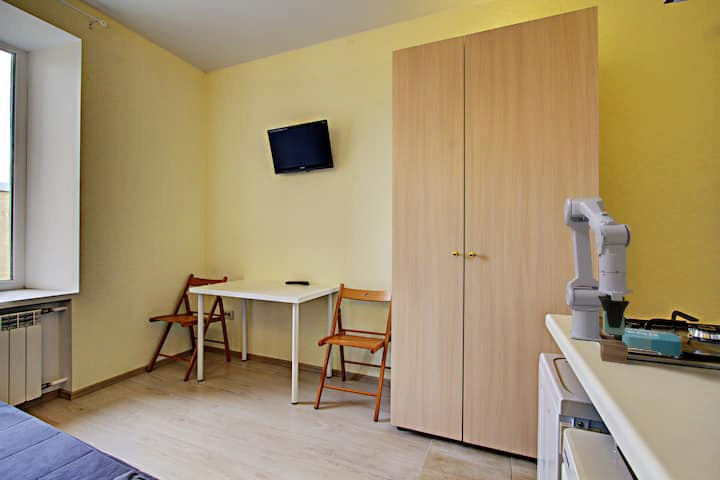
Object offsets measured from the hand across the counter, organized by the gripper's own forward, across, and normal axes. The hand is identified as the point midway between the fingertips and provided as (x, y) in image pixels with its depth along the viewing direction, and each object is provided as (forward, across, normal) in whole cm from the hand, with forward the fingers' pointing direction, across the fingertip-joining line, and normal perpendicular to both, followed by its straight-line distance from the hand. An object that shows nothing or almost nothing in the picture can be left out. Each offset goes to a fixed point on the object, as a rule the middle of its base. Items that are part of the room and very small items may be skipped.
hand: (613, 325), depth 89 cm
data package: (+6, +8, -9) cm, 14 cm away
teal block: (+2, 0, 0) cm, 2 cm away
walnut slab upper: (+7, 0, 0) cm, 7 cm away
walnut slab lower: (+9, 0, 0) cm, 9 cm away
